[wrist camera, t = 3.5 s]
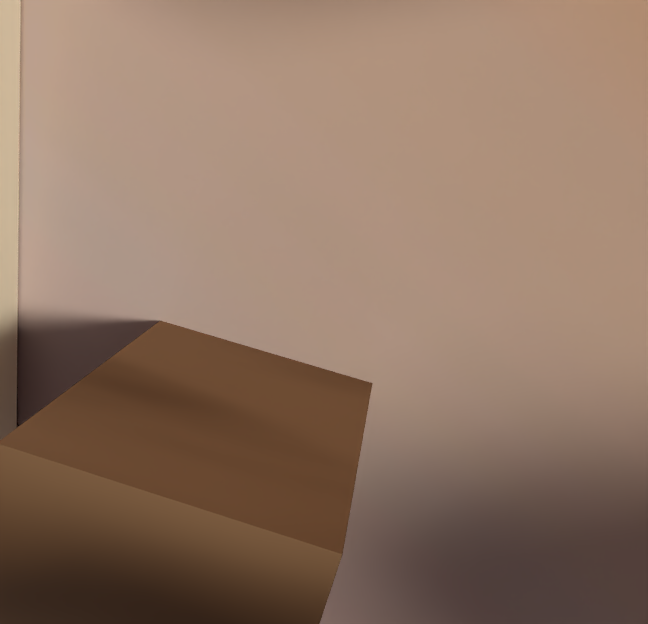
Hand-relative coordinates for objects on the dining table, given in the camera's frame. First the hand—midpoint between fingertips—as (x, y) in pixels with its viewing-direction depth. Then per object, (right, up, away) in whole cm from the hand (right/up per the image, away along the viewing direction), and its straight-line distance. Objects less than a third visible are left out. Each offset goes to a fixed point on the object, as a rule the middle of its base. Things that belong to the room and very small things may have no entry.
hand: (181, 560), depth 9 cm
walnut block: (+1, +1, +3) cm, 4 cm away
